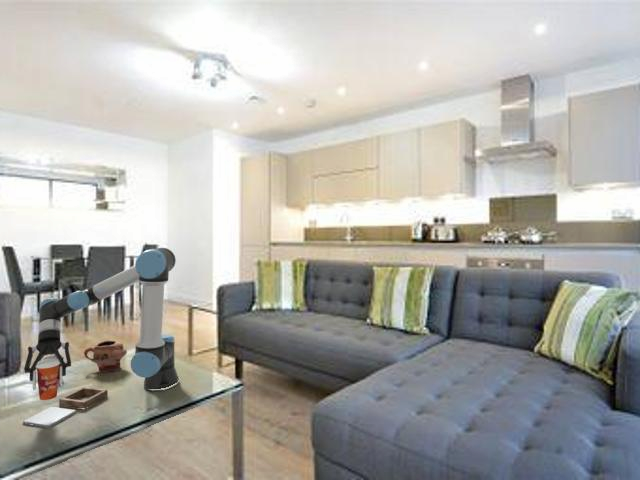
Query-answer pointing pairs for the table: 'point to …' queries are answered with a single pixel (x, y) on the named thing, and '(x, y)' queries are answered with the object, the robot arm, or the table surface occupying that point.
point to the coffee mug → (54, 358)
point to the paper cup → (47, 378)
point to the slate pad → (49, 417)
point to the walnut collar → (94, 392)
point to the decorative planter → (107, 355)
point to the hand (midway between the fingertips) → (47, 385)
